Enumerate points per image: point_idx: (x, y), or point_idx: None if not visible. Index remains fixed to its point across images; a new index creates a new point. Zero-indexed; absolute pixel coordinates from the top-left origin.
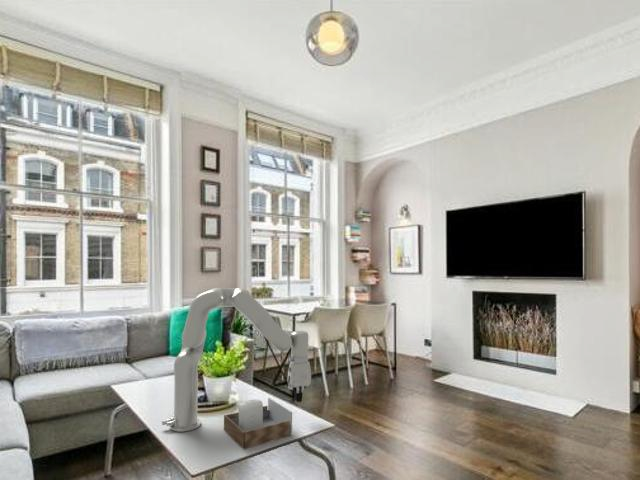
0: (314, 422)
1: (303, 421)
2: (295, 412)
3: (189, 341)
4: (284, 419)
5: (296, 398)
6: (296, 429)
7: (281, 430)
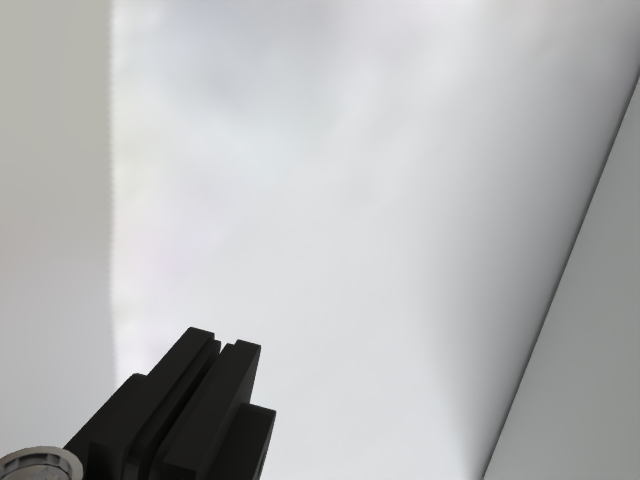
0: (195, 85)
1: (268, 201)
2: None
3: None
4: None
5: (271, 426)
6: (488, 100)
7: None
